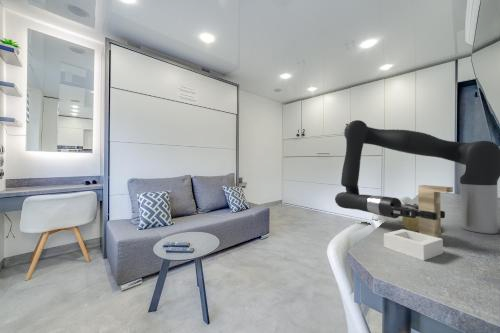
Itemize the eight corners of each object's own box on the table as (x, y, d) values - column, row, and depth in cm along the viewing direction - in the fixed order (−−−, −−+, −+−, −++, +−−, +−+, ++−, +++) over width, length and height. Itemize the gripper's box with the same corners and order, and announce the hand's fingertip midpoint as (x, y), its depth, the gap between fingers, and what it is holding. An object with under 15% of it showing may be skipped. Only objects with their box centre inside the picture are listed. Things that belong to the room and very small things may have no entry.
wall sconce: (443, 222, 68) (370, 188, 87) (429, 244, 71) (361, 207, 90) (451, 216, 76) (382, 187, 95) (438, 237, 79) (374, 204, 98)
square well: (403, 241, 65) (403, 229, 65) (443, 253, 56) (442, 238, 56) (383, 246, 61) (383, 233, 61) (423, 260, 52) (423, 245, 52)
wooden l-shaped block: (425, 238, 67) (424, 185, 67) (453, 246, 61) (452, 186, 61) (418, 240, 65) (418, 185, 65) (447, 248, 59) (446, 187, 59)
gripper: (371, 197, 74) (428, 205, 59) (394, 195, 80) (451, 201, 65) (371, 218, 74) (428, 231, 59) (394, 213, 80) (452, 224, 65)
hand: (440, 215), depth 62 cm, fingers closed on wooden l-shaped block, 4 cm apart
